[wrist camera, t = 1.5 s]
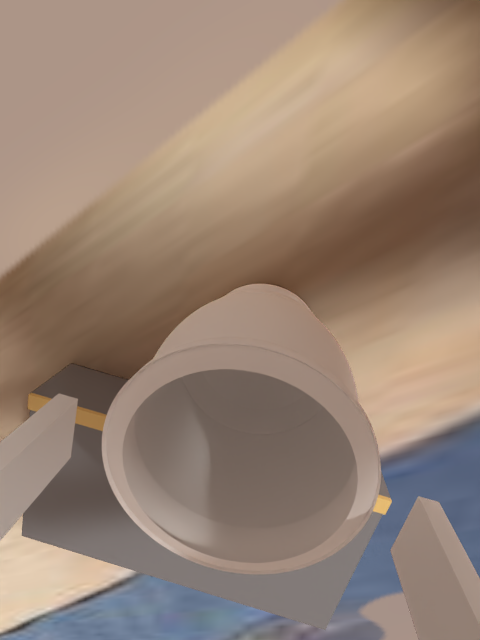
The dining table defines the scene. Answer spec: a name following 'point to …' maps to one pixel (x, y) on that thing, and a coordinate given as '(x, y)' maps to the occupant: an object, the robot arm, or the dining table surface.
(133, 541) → the dock
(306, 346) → the jar
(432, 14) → the dining table surface
